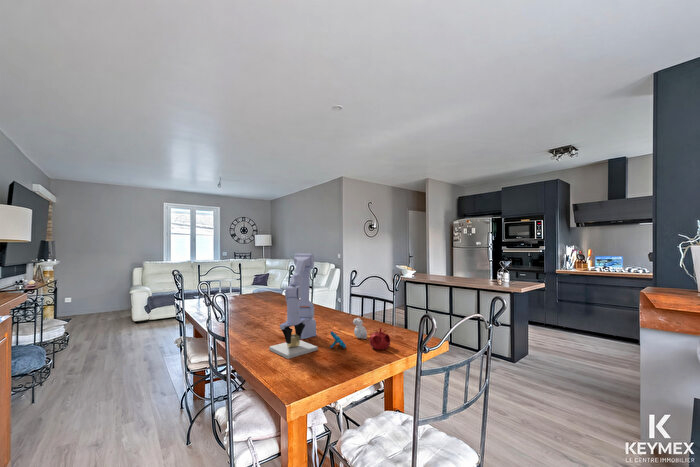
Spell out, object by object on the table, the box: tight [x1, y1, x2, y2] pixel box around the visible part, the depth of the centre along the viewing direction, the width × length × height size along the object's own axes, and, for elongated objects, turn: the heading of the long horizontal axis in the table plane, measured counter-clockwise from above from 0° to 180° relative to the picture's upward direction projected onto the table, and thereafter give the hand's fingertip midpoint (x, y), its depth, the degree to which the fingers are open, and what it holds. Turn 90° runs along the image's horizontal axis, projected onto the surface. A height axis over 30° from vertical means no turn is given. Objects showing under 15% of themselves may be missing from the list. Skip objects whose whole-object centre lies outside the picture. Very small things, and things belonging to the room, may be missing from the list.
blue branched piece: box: [329, 330, 347, 349], centre depth 148 cm, size 11×6×10 cm
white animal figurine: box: [352, 317, 368, 340], centre depth 164 cm, size 12×8×11 cm
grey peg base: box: [268, 336, 319, 360], centre depth 145 cm, size 16×16×6 cm
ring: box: [287, 333, 301, 347], centre depth 145 cm, size 6×6×4 cm
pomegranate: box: [368, 327, 391, 351], centre depth 147 cm, size 10×10×9 cm
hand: (293, 341), depth 145 cm, fingers closed on ring, 6 cm apart
